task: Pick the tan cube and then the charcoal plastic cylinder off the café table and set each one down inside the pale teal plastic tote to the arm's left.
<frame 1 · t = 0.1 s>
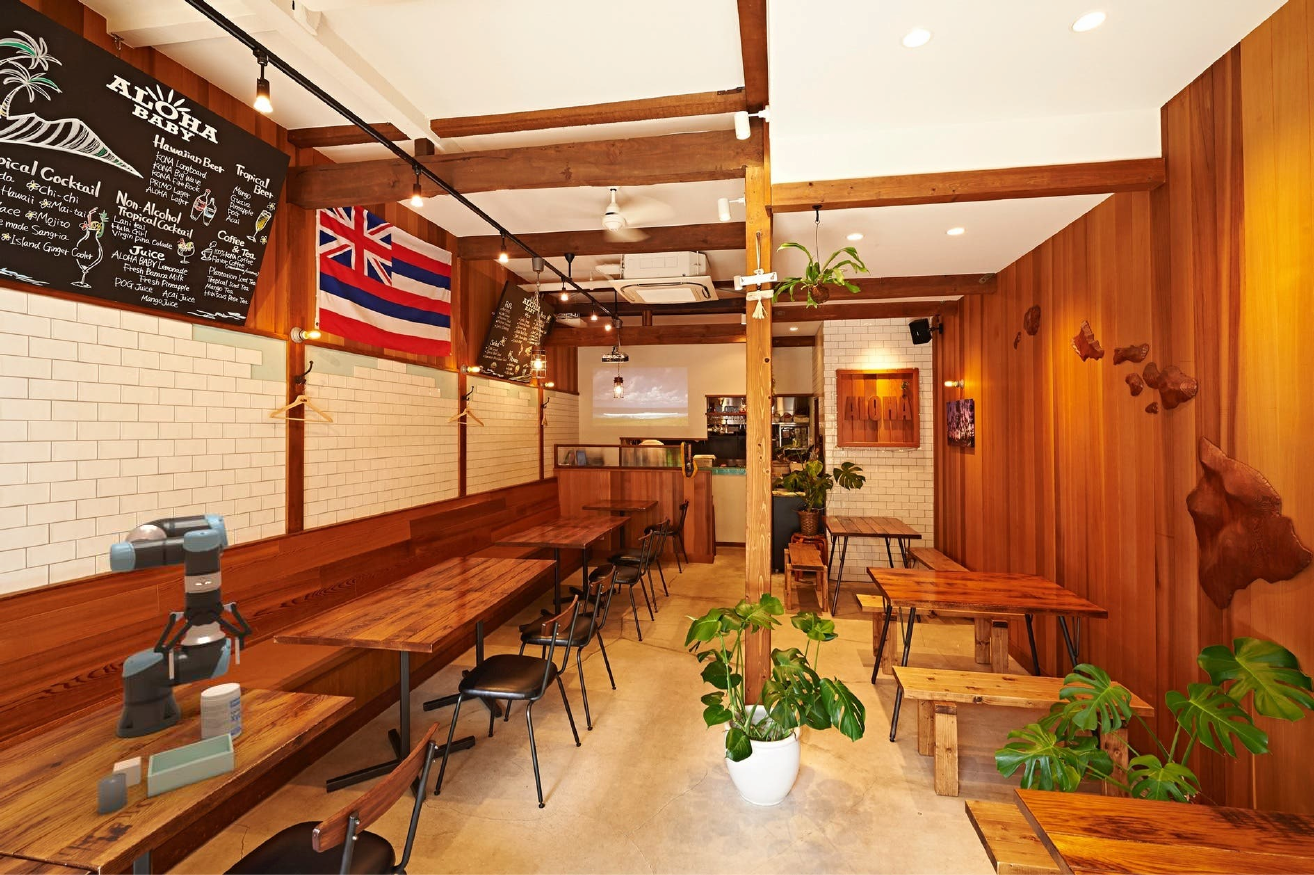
hand: (205, 670, 150), 28 cm above the table, fingers open, 13 cm apart
teal tote: (192, 772, 152), on the table
tan cube: (127, 783, 148), on the table
supplement tub: (222, 739, 169), on the table
charcoal cylinder: (112, 808, 138), on the table
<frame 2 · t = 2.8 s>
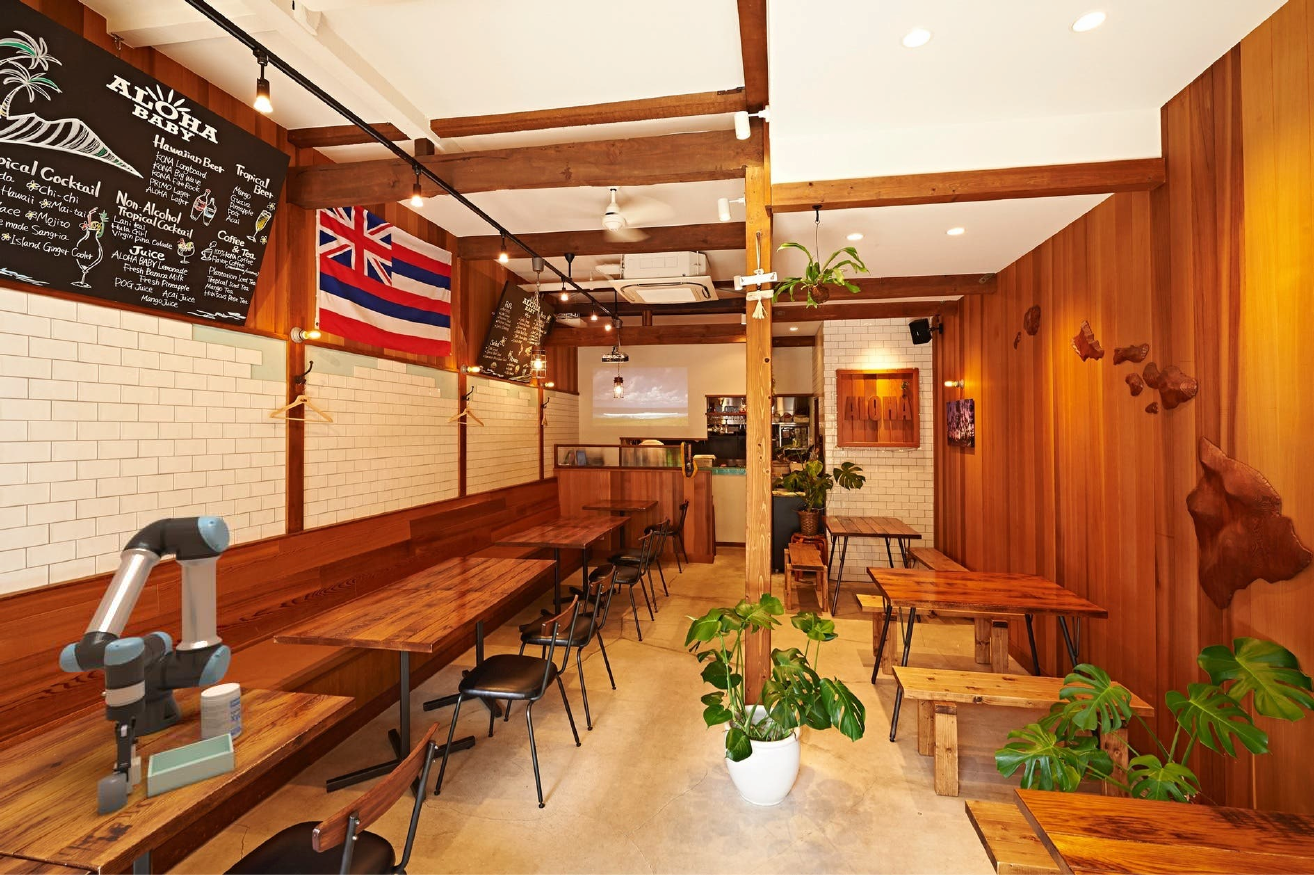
hand: (127, 782, 148), 0 cm above the table, fingers open, 13 cm apart
charcoal cylinder: (112, 808, 138), on the table, touching gripper
everything else where it was.
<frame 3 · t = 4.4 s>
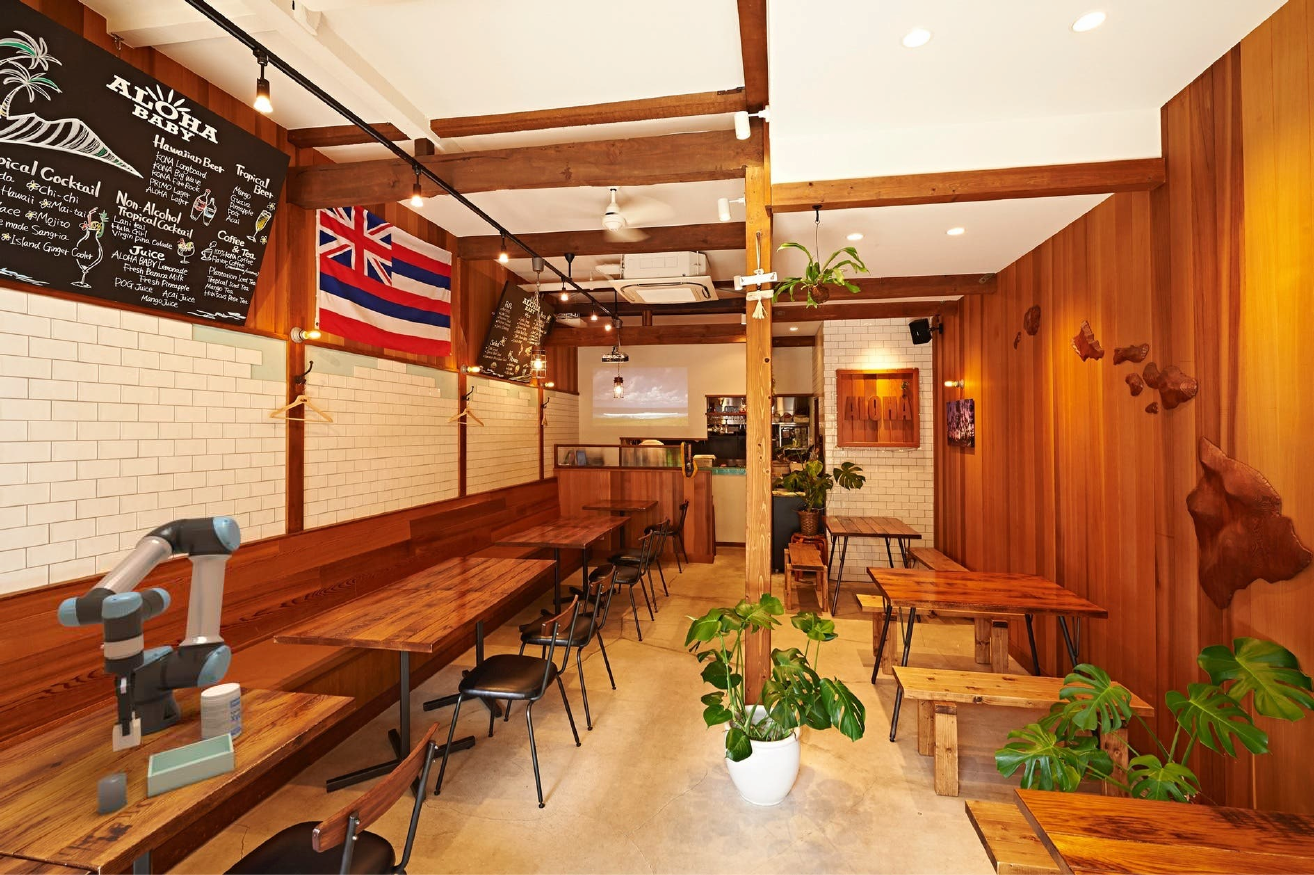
hand: (127, 742, 149), 10 cm above the table, fingers closed on tan cube, 5 cm apart
tan cube: (127, 744, 149), point 10 cm above the table, touching gripper
charcoal cylinder: (112, 808, 138), on the table
everything else where it was.
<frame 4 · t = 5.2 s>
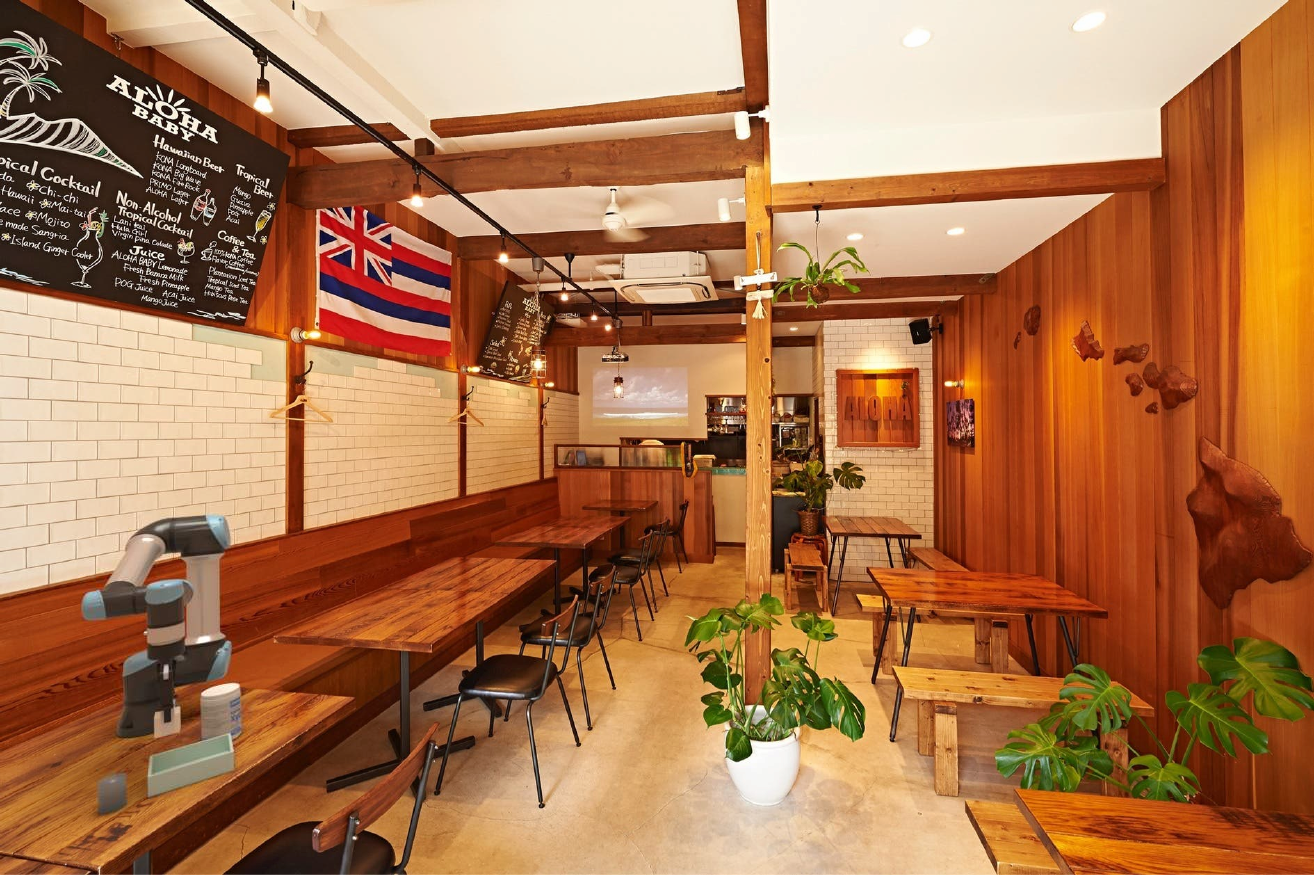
hand: (168, 729, 149), 13 cm above the table, fingers closed on tan cube, 5 cm apart
tan cube: (167, 731, 149), point 13 cm above the table, touching gripper
everything else where it was.
when the fingers open (5 cm above the table, at t = 6.7 s): tan cube drops 4 cm, resting on teal tote.
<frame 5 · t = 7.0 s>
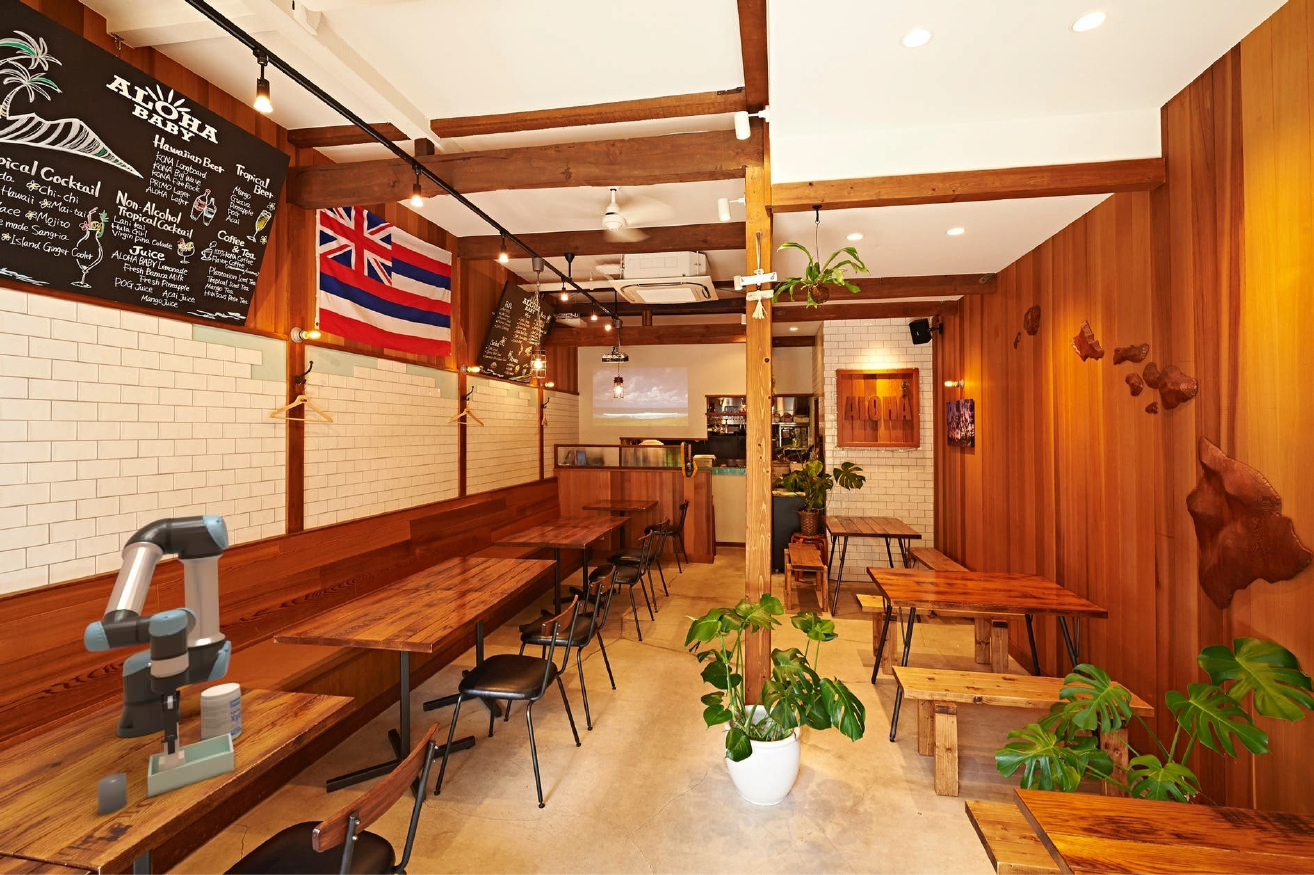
hand: (172, 756, 149), 6 cm above the table, fingers open, 10 cm apart
tan cube: (172, 776, 149), point 1 cm above the table, touching teal tote
everything else where it was.
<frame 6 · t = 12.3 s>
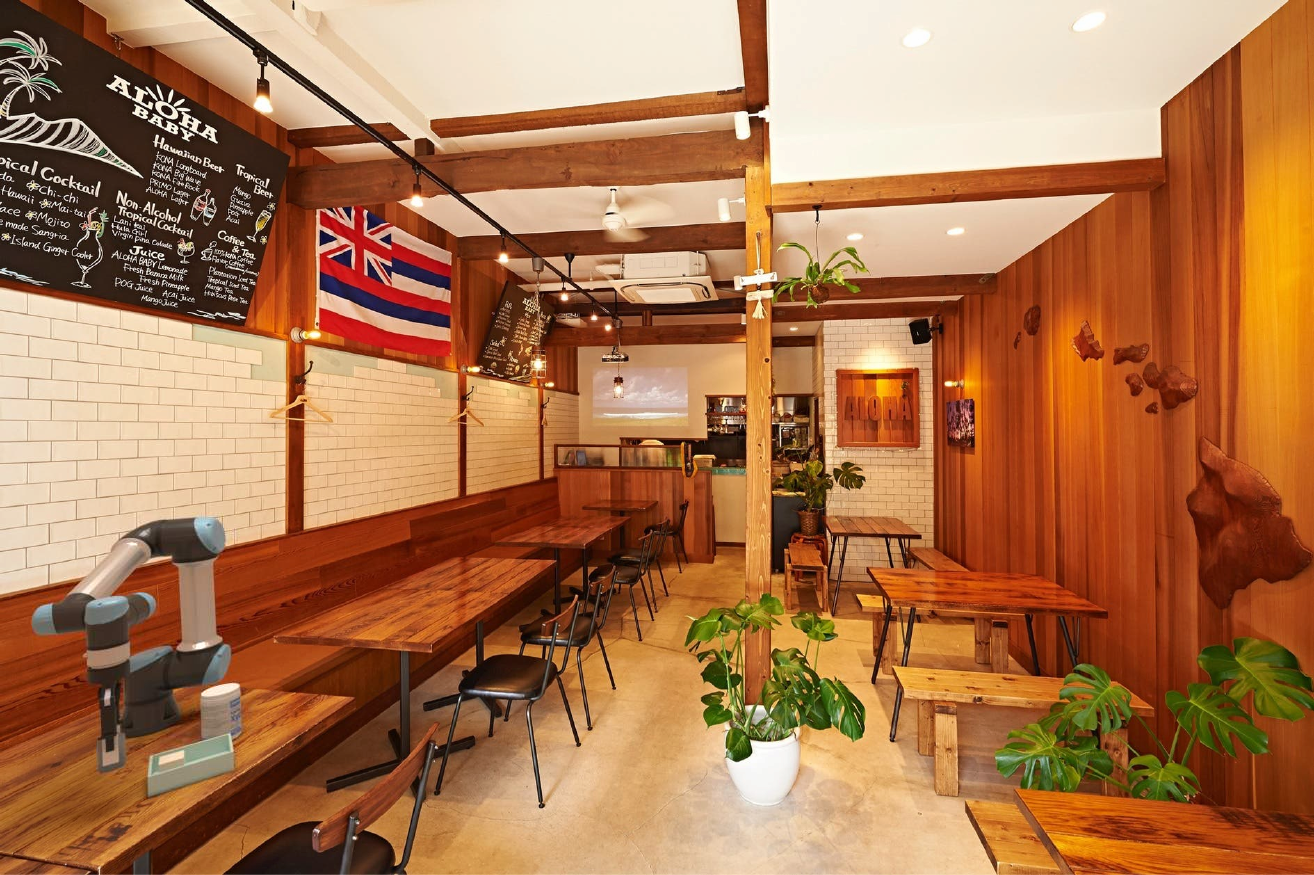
hand: (112, 758, 138), 12 cm above the table, fingers closed on charcoal cylinder, 5 cm apart
charcoal cylinder: (112, 766, 138), point 10 cm above the table, touching gripper
everything else where it was.
when the fingers open (5 cm above the table, at t = 14.8 s): charcoal cylinder drops 3 cm, resting on teal tote.
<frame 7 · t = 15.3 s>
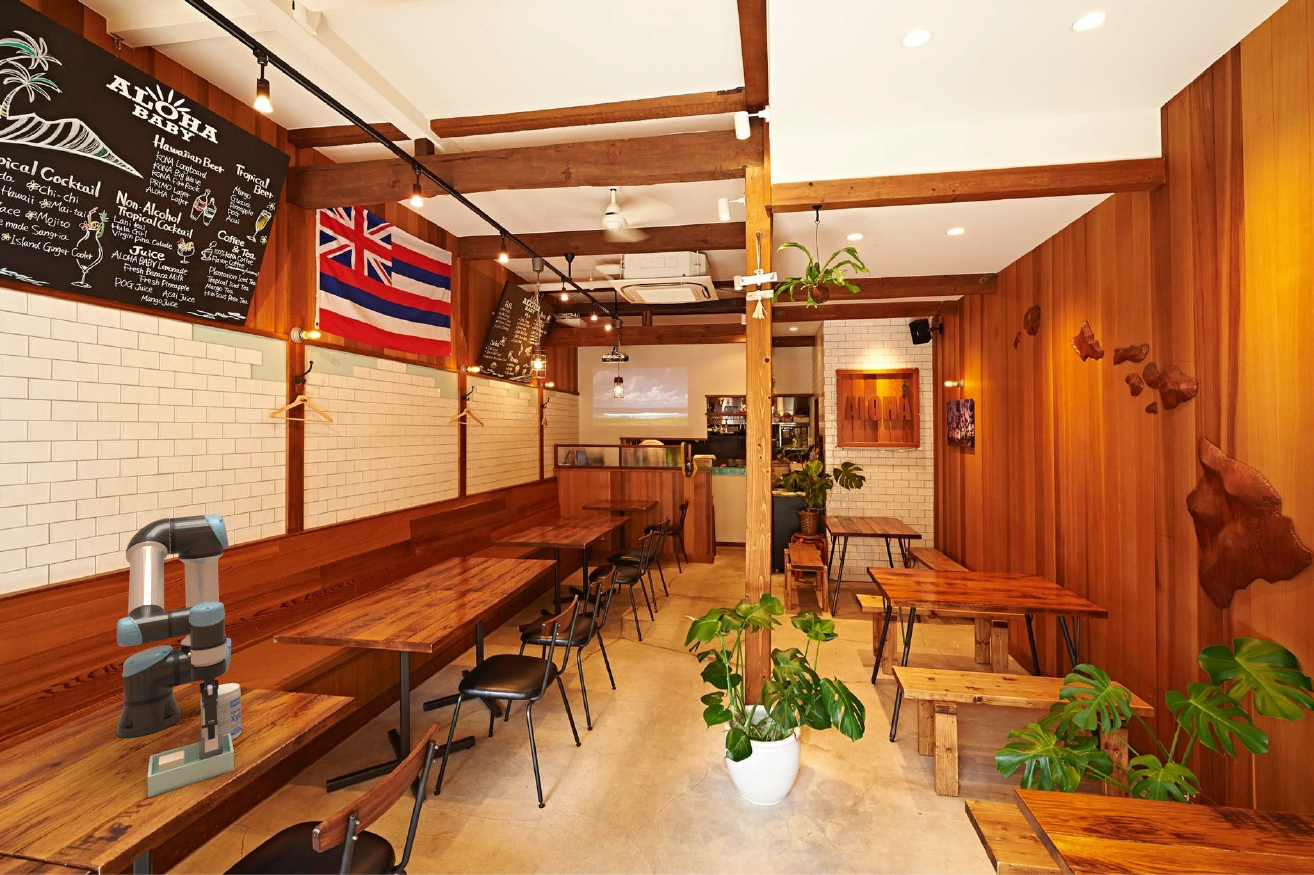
hand: (210, 740, 154), 7 cm above the table, fingers open, 12 cm apart
charcoal cylinder: (211, 764, 154), point 1 cm above the table, touching teal tote
everything else where it was.
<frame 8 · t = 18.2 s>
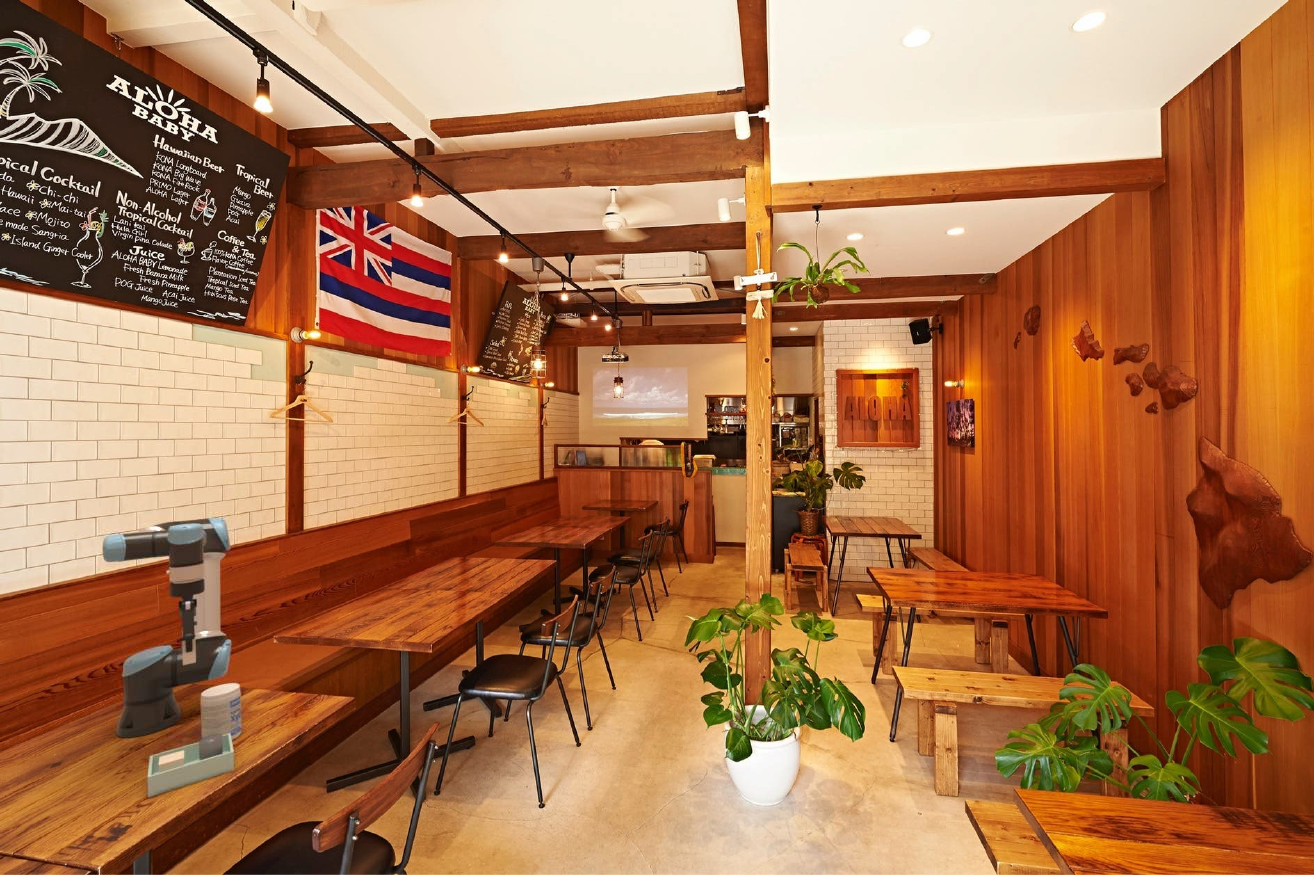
hand: (189, 656, 158), 29 cm above the table, fingers open, 13 cm apart
nothing on the table moved.
at the end: tan cube inside the target area on the teal tote (4.1 cm from its centre), point 0.6 cm above the teal tote's base; charcoal cylinder inside the target area on the teal tote (4.0 cm from its centre), point 0.6 cm above the teal tote's base; the gripper is holding nothing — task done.
